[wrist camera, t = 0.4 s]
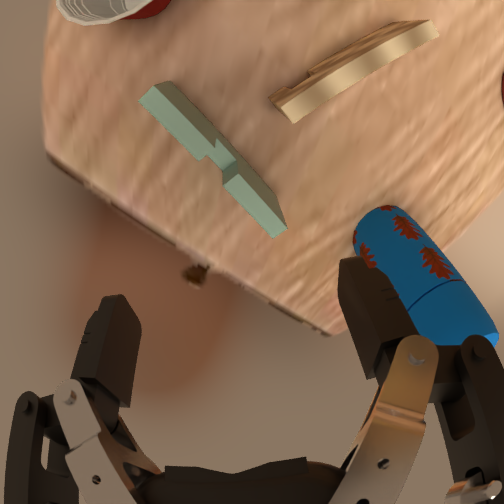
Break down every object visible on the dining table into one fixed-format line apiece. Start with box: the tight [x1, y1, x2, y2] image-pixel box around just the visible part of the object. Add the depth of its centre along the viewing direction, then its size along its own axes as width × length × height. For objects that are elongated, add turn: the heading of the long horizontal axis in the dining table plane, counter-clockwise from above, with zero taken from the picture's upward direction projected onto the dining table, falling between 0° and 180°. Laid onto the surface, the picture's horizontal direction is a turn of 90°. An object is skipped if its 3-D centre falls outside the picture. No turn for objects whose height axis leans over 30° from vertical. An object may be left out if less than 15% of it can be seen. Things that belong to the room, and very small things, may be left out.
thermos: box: [353, 205, 499, 347], centre depth 33 cm, size 11×11×25 cm
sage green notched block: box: [138, 81, 288, 238], centre depth 30 cm, size 20×2×8 cm, turn 38°
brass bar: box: [268, 20, 440, 124], centre depth 24 cm, size 20×2×8 cm, turn 128°
